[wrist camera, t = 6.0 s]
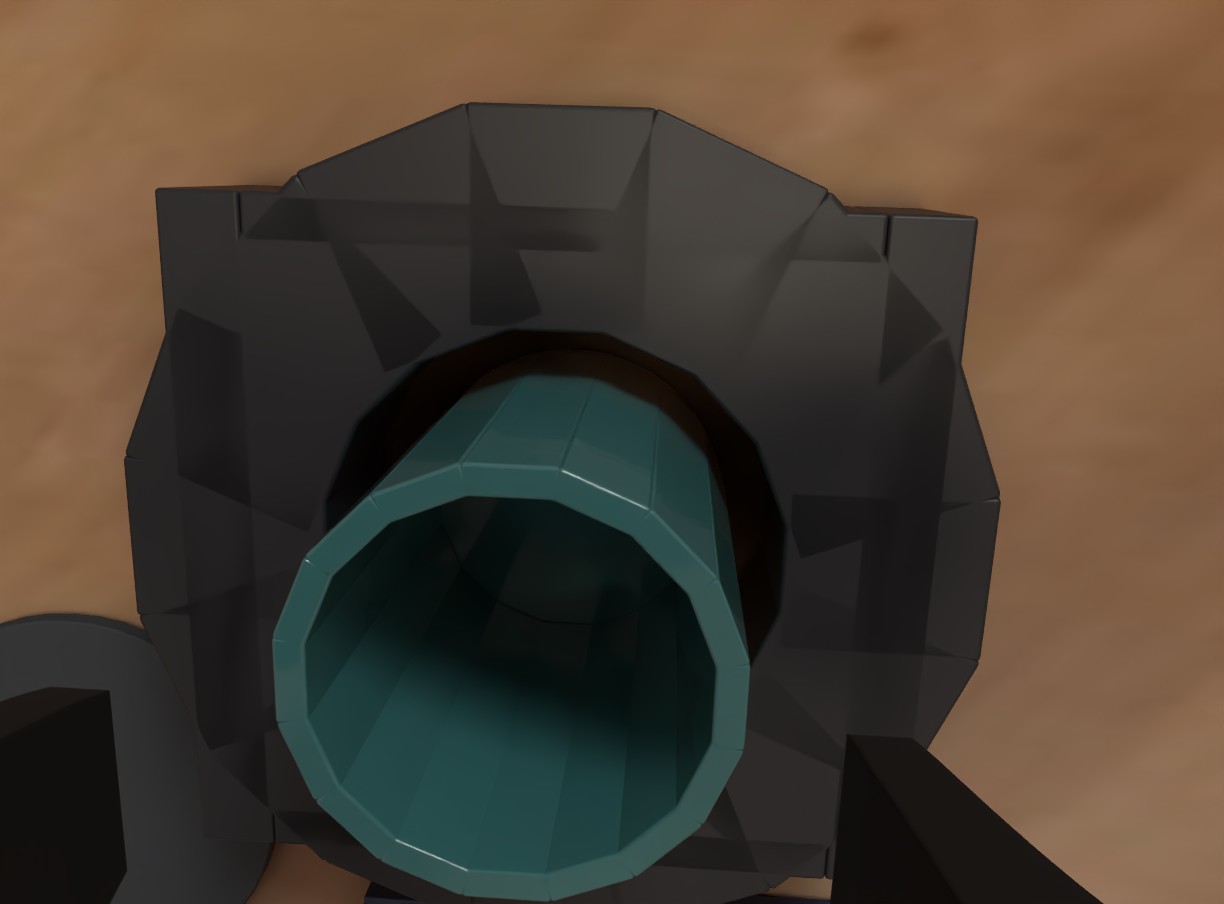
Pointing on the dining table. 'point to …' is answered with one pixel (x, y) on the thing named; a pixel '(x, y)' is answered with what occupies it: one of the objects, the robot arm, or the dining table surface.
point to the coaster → (138, 756)
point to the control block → (384, 900)
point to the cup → (525, 638)
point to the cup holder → (592, 304)
